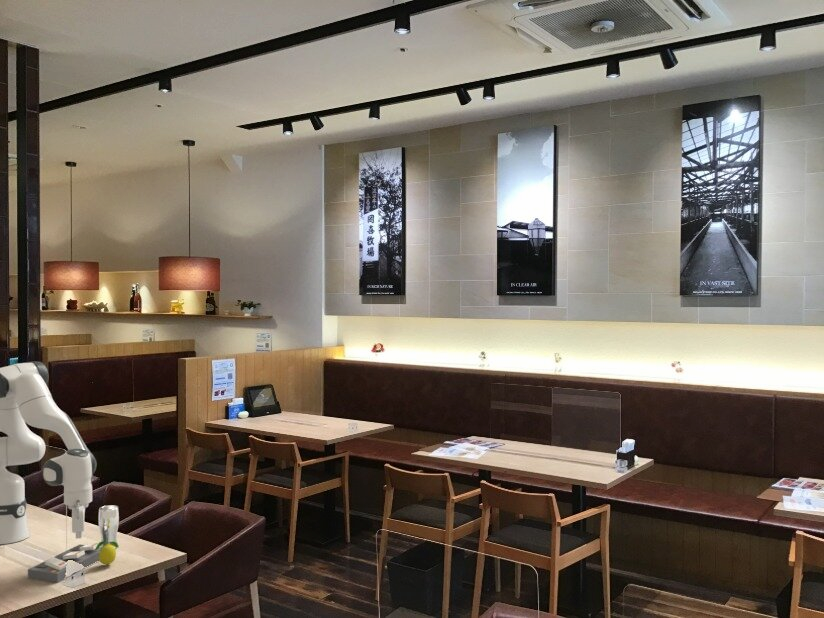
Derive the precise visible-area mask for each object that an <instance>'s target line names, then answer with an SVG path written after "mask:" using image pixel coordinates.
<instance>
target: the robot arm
mask: <svg viewBox="0 0 824 618" xmlns="http://www.w3.org/2000/svg"><path fill="white" fill-rule="evenodd" d="M49 377H50V375H49V370H48V368H47V366H46V365H45V364H44V363H43V362H42V361H29V362H22V363H21V362H20V363H14V364H11V365H8V366H7V365H6V366H3V367H0V432H2V433H3V434H6V436H2V437H1V436H0V545H7V544H14V543H17V542H21V541H23V540H25V539H27V538H29V537H30V536H31V532H30V527H29V524H28V517H27V515H28V514H27V511H26V509H27V499H26V497H25V496H26V495H25V494H26V493H25V492H26V491H25V488H26V487H25V480H24V478H23V477H21V476H20V475H19V474H17V473H13V472H11V471H9V470H8V469H7V468H6V467H9V466H10V467H11V466H21V465H28V464H32V463H35V462H40V460H41V459H42V458H44V456H45V452H46V446H47V445H46V443H45V440H44V439H43V438H42V437H41V436H39V435H37V434H36V433H34V432H33V431H31V430H30V428H29V427H28V425H29V426H31V427H33V428H37V429H42V430H47V431H52V432H54V433H56V434H57V435H59V436H60V438H61V439H62V442H63V443H64V445H65V447H66V448H67V450H66V451H65V453H63V454H62V455H60V456H56V457H52V458H50V459H48V460H46V462H45V463H44V464H43V466H42V471H41V473H42V474H41V475H42V478H43V481H44V482H45V483H46V484H47V485H48V486H51V487H58V486H63V504H64V505H65V506H67V508H68V509H69V510H71V531H72V533H73V534H74V533H75V539H76V540H78V539H82V536H83V535H82V533H83V532H84V531H85V513H86V508H88V507H89V504H90V503H91V502H93V484H92V477H93V475H94V473H95V471H96V469H97V464H98V463H97V459H96V458H95V456H94V454H93V453H92V452H91V450H90V449H89V448H88V447H87V445H86V443H85V442H84V440H83V438H82V436H81V435H80V433H79V431H78V429H77V428H76V426H75V423H74V422H73V420H72V419H71V418H70V416H69V415H68V414H67V413H66V412H65V411H63V410H61V408H59V407H58V405H57V403H56V402H55V400H54V399H53V396H52V393H51V391H50V390H49V387H48V385H47V384H48V382H49Z"/></svg>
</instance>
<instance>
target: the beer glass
mask: <svg viewBox="0 0 824 618" xmlns="http://www.w3.org/2000/svg"><path fill="white" fill-rule="evenodd" d="M119 515H120V514H119V506H118V505H113V504H111V505H104V506H100V507H99V509H98V528H99V529H98V530H99V533H100V542H101V541H105V542H104V543H103V544H102V545H101V546H100V547H103V546H104V545H106V544H107V537H108V544H110V543H109V542H113V541H114V542H116V543H117V544H118V540H117V538H118V537H117V536H118V529H119V522H120V516H119ZM112 546H113V545H112ZM114 548H115V550H116V549H118V548H117V547H114Z"/></svg>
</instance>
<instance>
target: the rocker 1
mask: <svg viewBox="0 0 824 618" xmlns="http://www.w3.org/2000/svg"><path fill="white" fill-rule="evenodd" d="M50 558H51V559H50ZM50 558H49V560H48V559H47V561H46V560H45V561H46V562H45V565H48V566H50V567H53V568H55V569H57V570H61V569H63V568H65V567H66V566H67V564H68V563H67V562H64V561H62V560H60V559H57V558H55V556H52V557H50Z"/></svg>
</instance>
